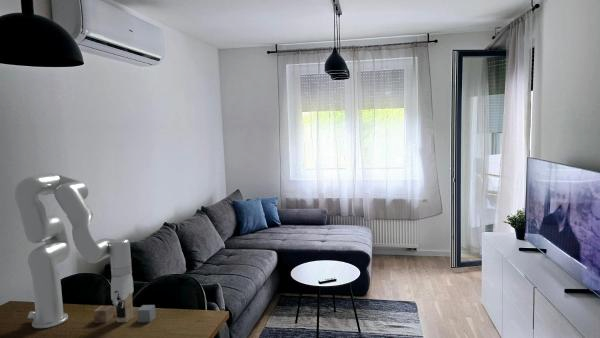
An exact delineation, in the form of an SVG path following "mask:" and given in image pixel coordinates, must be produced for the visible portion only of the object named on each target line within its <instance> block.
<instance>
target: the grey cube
mask: <svg viewBox="0 0 600 338" xmlns="http://www.w3.org/2000/svg"><path fill="white" fill-rule="evenodd" d="M156 316H157V315H156V305H155V304H142V305H141V306H140V307H139V308H138V309H137V323H151V322H152V321H153V320H154V319H155V318H156Z"/></svg>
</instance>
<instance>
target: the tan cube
mask: <svg viewBox="0 0 600 338" xmlns="http://www.w3.org/2000/svg"><path fill="white" fill-rule="evenodd" d="M93 318H94V319H93V320H94V323H95V324H104V323H105V324H107V323H108V322H110V321H111V320H112V319H113V318H114V312H113V305H100V306H99V307H97V308H96V309H95V310H93Z"/></svg>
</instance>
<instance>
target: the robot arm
mask: <svg viewBox="0 0 600 338" xmlns="http://www.w3.org/2000/svg"><path fill="white" fill-rule="evenodd" d="M52 194H53V195H54V198H55V200H56V202H57V203H58V206H60V208H61V210H62V211H63V213H64V214H65V216H66V218H67V219H68V221H69V223H70V224H71V233H72V241H73V244H74V246H75V248H76V250H77V251H78V253H79V254H80V255H81V258H82V259H83V260H84V261H86V262H87V263H90V264H97V263H98V262H101V261H103V260H104V259H106V258H108V257H109V259H110V271H111V281H110V299H111V301H112V306H113V305H114V307H115V313H116V312H117V313H116V319H117V318H124V317H125V307H124V300H125V299H126V298H127V297H128V295H129V293H130V292H131V291H132V296H133V294H134V279H133V275H132V274H133V270H132V269H133V268H132V257H131V243H130V241H129V239H126V238H117V239H115V238H101V239H98V240H97V241H95V239H94V238H93V236H92V234H91V231H90V230H91V229H90V225H91V222H92V219H93V217H94V213H93V211H92V210H91V209H90V207H89V205H88V204H87V202H86V199H87V198H88V196H89V189H88V187H87V185H86V184H85V183H83V182H82V181H79V180H77V179H75V178H74V179H73V178H71V177H68V176H64V175H61V174H57V173H45V174H36V175H31V176H27V177H25V178H23V179H22V180H20V181H19V183H18V184H17V185H16V186H15V189H14V199H15V203H16V205H17V208H18V211H19V214H20V219H21V223H22V226H23V231H24V234H25V237H26V239H27V241H29V242H30V243H32V244H40V243H43V242H44V244H42V245H39V246H37V247H36V248H34V249H32V250H31V252H30V253H29V254H28V256H27V265H28V267H29V271H30V274H31V279H32V280H31V281H32V289H33V299H34V310H35V311H33V310H32V311H29V313H28V315H27V318H28V319H33V321H32V323H31V326H32V327H33V328H34V329H47V328H52V327H55V326H58V325H61V324H62V323H65V322H66V321H67V320H68V319H69V315H68V313H66V312H64V306H63V305H64V304H63V303H64V302H63V295H62V284H61V282H62V281H61V275H60V272H59V270H58V269H57V266H56V265H58V264H60V263H63V262H64V261H66V260H67V259H68V258H69V257H70V254H71V253H70V252H71V246H70V242H69V238H68V234H67V231H66V226H65V223H64V222H63V221H62V219H61V218H60V217H58V216H57V215H51V214H50V215H47V212H46V208H45V206H44V203H43V202H42V201H41V199H40V197H43V196H47V195H52ZM118 298H121V300H118ZM119 302H121V304H120V303H119Z"/></svg>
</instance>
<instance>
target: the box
mask: <svg viewBox="0 0 600 338" xmlns="http://www.w3.org/2000/svg"><path fill="white" fill-rule="evenodd" d="M118 300H121V298H118ZM119 303H120V304H121V302H119ZM124 307H125V317H124V318H117V317H116V322H117V323H128V322H129V321H131V320H132V319H133V318H134V306H133V295H132V291H131V292H130V293H129V295H128V297H127V298H126V299H125V300H124ZM115 313H116V314H117V312H116V311H115Z"/></svg>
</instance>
